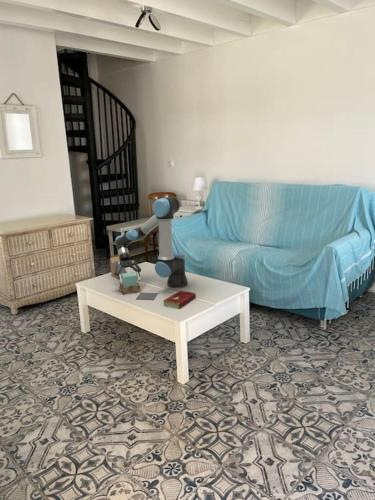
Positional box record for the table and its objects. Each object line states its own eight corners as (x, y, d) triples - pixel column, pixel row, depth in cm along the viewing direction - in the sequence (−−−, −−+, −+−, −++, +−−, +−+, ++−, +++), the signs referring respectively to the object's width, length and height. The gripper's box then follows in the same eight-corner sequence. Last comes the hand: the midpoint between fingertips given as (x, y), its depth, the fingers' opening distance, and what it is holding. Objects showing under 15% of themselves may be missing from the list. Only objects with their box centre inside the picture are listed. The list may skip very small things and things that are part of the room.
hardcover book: (195, 298, 264) (195, 292, 263) (179, 309, 247) (178, 303, 246) (180, 295, 270) (180, 289, 269) (163, 306, 253) (162, 300, 252)
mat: (157, 293, 274) (157, 293, 274) (153, 300, 263) (153, 299, 262) (140, 293, 276) (140, 292, 276) (135, 299, 265) (135, 298, 264)
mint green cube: (134, 281, 286) (133, 271, 284) (137, 285, 277) (136, 275, 276) (121, 283, 283) (121, 273, 281) (124, 286, 274) (123, 277, 273)
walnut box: (136, 287, 288) (135, 277, 287) (140, 292, 278) (139, 282, 277) (120, 289, 284) (119, 280, 283) (123, 294, 274) (122, 284, 273)
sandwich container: (120, 280, 304) (119, 261, 300) (111, 276, 316) (109, 258, 312) (130, 278, 309) (129, 259, 305) (120, 273, 321) (119, 255, 317)
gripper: (139, 256, 294) (146, 282, 284) (107, 260, 286) (112, 286, 276) (141, 250, 288) (147, 277, 278) (107, 254, 280) (113, 281, 270)
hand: (130, 282), depth 277 cm, fingers open, 12 cm apart
